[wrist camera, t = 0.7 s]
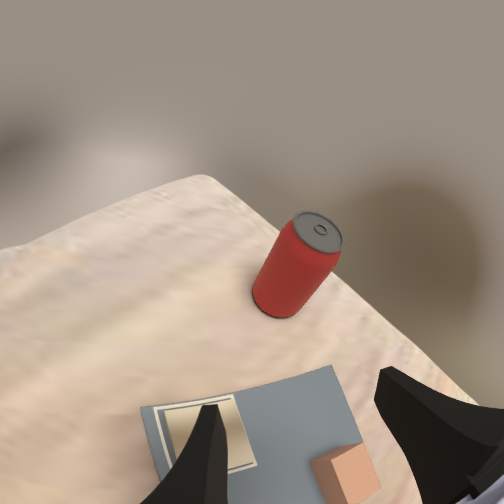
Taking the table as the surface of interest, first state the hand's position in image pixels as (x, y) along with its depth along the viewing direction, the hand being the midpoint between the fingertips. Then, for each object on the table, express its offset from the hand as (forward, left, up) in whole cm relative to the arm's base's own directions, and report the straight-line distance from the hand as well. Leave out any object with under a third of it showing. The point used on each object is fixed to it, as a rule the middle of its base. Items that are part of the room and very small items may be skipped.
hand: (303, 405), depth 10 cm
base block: (0, +2, -15) cm, 15 cm away
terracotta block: (-9, -9, -15) cm, 20 cm away
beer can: (+14, -11, -16) cm, 24 cm away
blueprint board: (-4, -3, -16) cm, 17 cm away
